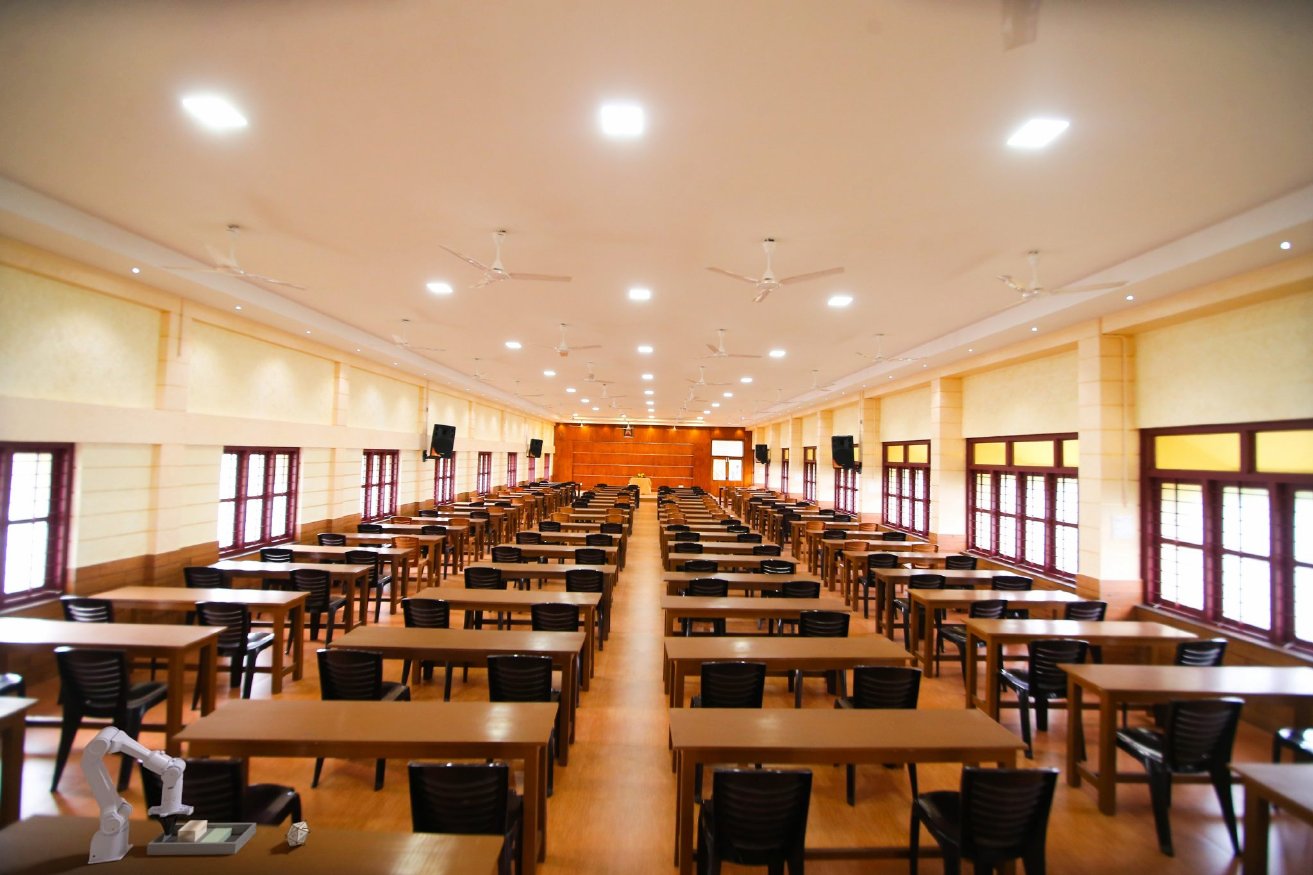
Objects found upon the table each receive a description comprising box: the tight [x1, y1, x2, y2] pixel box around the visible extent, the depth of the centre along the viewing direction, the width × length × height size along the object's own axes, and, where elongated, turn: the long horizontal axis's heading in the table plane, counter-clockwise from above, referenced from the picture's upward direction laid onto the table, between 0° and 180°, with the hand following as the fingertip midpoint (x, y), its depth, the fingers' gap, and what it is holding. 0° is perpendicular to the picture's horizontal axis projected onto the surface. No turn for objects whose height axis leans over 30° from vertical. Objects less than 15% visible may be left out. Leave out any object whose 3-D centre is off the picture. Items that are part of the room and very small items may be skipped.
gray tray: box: [146, 822, 257, 856], centre depth 212 cm, size 30×12×4 cm, turn 94°
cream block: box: [177, 819, 208, 842], centre depth 212 cm, size 6×6×4 cm
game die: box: [284, 818, 312, 850], centre depth 214 cm, size 9×8×10 cm
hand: (168, 833), depth 211 cm, fingers closed
